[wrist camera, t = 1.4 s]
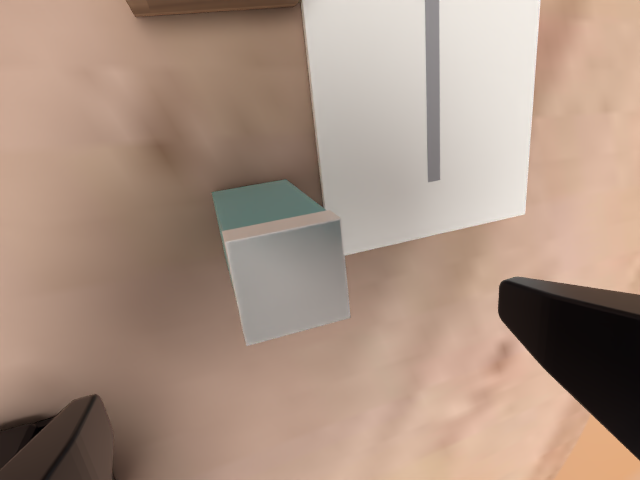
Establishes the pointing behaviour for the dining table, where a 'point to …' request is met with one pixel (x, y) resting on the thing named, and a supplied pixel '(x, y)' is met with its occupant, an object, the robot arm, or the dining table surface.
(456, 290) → the dining table surface
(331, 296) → the teal banded box
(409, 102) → the paper
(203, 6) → the brown square frame
